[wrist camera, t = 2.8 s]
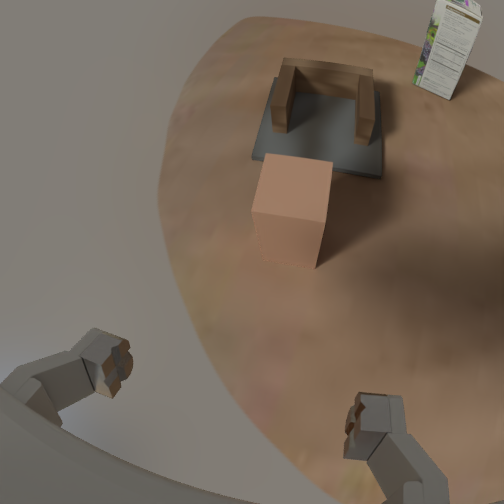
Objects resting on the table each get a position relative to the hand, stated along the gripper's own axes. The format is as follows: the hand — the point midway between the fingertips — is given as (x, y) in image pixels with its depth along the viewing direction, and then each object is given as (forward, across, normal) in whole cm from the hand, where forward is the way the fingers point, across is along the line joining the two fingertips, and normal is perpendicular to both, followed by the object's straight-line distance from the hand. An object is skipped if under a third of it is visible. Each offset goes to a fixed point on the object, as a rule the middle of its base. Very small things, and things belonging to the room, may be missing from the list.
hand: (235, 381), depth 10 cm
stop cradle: (+30, -1, -8) cm, 31 cm away
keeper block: (+19, 0, +3) cm, 19 cm away
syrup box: (+38, -16, -16) cm, 45 cm away
